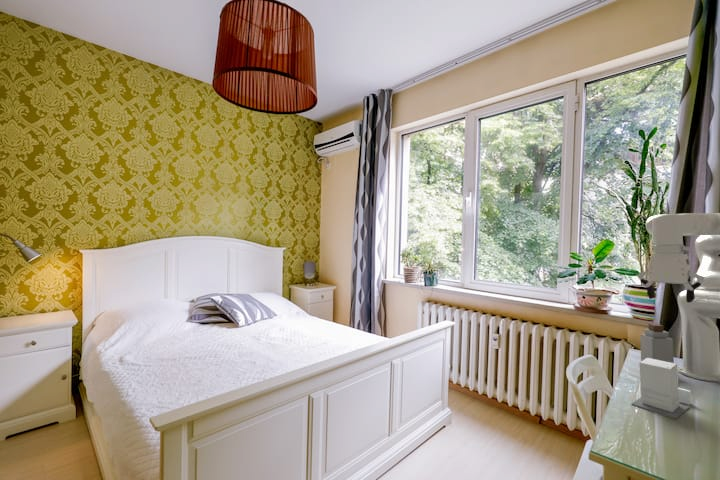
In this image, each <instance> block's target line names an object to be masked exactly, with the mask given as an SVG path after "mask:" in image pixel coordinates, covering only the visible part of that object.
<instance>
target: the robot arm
mask: <svg viewBox="0 0 720 480" xmlns="http://www.w3.org/2000/svg"><path fill="white" fill-rule="evenodd" d="M645 229H646V231H647V233H648V234H650V235H652V251H653V253H652V254H651V255H650V258H649V265H648V270H645V271H642V272H639V273H637V274H636V276H637V278H638V279H639V280H640V282H641V283H642V284H643V285H644V286H645V287H646V292H647V293H646V294H647V296H648V298H649V300H652V299H654V298H655V297H656V291H655V288H656V287H655V284H657V283H658V284H659V283H660V284H674V285H675V284H676V285H683V286H684V287H685V288H686V289H685V290H682V291H680V292H679V293H678V294H677V298H676V299H677V305H678V309H679V312H680V319H681V337H682V338H681V339H682V365H679V366H677V370H678V372H679V373H680V374H682V375H684V376H687V377H690V378H691V379H692V378H694V379H696V380H700V381H708V382H715V383H716V382H720V330H719V328H718V326H717V325H716V323H715V322H714V321H713V320H712V319H711V318H714V319H720V256H719V255H720V212H714V213H711V212H708V213H703V212H692V213H691V212H690V213H689V212H687V213H686V212H685V213H684V212H683V213H665V214H656V215H652V216H649V217H648V219H647V220H646V222H645ZM691 236H693V237H696V236H697V238H696V239H695V242H694V247H695V251H696V253H695V254H696V257H697V259H698V261H699V267H698V268H697V270H696V272H693V271H692V270H691V264H690V261H689V260H690V259H689V256H688V253H687V254H686V253H685V252H687V251H689V252H690V246H685V245H684V240H683V239H684V238H683V237H691ZM647 275H648V280H647V279H646V278H645V276H647Z"/></svg>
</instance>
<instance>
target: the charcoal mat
mask: <svg viewBox="0 0 720 480" xmlns="http://www.w3.org/2000/svg"><path fill="white" fill-rule="evenodd" d="M631 405H632V406H634V407H636V408H640V409H643V410H647V411H649V412H652V413H655V414H658V415H662V416H663V417H667V418H671V419H673V420H677V418H679V417H680V416H682V414H684V413H685V412H686V411H687V410H689V409H690V405H687V404H684V403H681V402H679V406H678V407H677V408H676V409H675V410H674V411H673V412H670V411H666V410H663V409H660V408H656V407H653V406H650V405H646V404H643V403H642V401H641V397H639V398H638V399H637V400H635V401H633V402H631Z"/></svg>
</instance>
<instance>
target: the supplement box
mask: <svg viewBox="0 0 720 480" xmlns="http://www.w3.org/2000/svg"><path fill="white" fill-rule="evenodd" d="M638 365H639V377H640V379H639V382H640V383H641V388H640V398H641V401H642V403H643V404H646V405H650V406H653V407H656V408H660V409H663V410H666V411H670V412H673V411H674V410H675V409H676V408H677V407H678V406H679V403H680V402H679V391H678V387H679V376H678V375H679V374H678V372H679V371H678V364H677V363H675V362H674V363H670V362H665V361H661V360H656V359H651V358H646V359H644V360H643V361H641V360H640V361H639V363H638Z"/></svg>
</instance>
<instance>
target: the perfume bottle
mask: <svg viewBox="0 0 720 480" xmlns="http://www.w3.org/2000/svg"><path fill="white" fill-rule="evenodd" d="M647 326H648V328H643V331H644V333H640V334H639V337H640V340H639V341H640V362H641V361H643V360H644V359H646V358H651V359H656V360H661V361H665V362H670V363H675V362H674V339H673V338H671V337H669V335H670V332H668V331H666V330H664V325H662V324H659V323H647Z"/></svg>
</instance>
